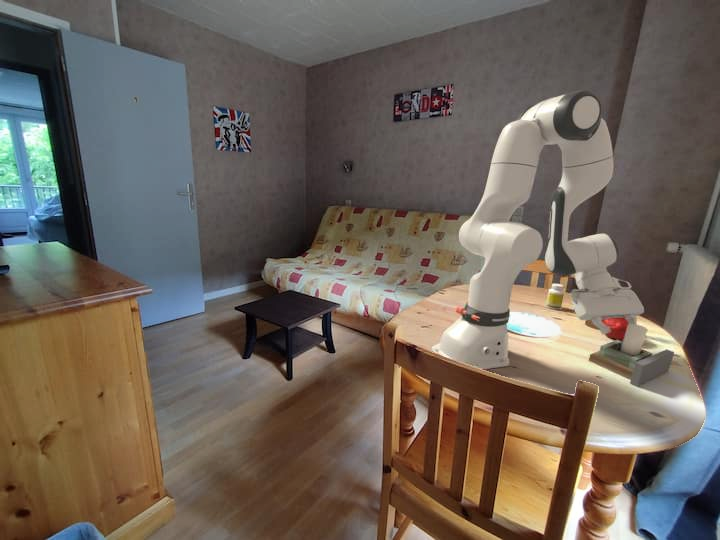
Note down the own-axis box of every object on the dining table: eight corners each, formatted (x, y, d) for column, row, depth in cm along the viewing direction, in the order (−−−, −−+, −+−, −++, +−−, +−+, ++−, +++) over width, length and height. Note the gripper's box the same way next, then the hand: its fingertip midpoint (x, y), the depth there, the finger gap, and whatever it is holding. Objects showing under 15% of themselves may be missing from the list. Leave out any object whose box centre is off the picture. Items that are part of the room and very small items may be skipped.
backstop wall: (637, 386, 80) (643, 365, 78) (629, 383, 81) (635, 362, 79) (668, 371, 86) (674, 352, 85) (660, 368, 88) (666, 349, 86)
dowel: (632, 365, 85) (642, 331, 83) (615, 357, 89) (625, 325, 86) (639, 362, 87) (650, 329, 85) (622, 355, 91) (632, 322, 88)
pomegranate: (597, 338, 106) (602, 312, 103) (599, 328, 113) (604, 303, 111) (636, 347, 100) (643, 319, 97) (636, 336, 107) (642, 310, 105)
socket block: (634, 381, 82) (638, 364, 81) (588, 360, 91) (592, 344, 90) (657, 370, 87) (662, 354, 86) (611, 351, 97) (615, 336, 95)
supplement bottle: (563, 310, 128) (567, 287, 126) (548, 309, 129) (552, 286, 127) (557, 305, 134) (562, 283, 131) (543, 304, 135) (547, 282, 132)
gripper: (575, 284, 92) (598, 330, 85) (634, 282, 95) (660, 326, 89) (560, 294, 97) (581, 338, 90) (616, 291, 101) (640, 333, 94)
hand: (621, 332), depth 89 cm, fingers open, 8 cm apart
